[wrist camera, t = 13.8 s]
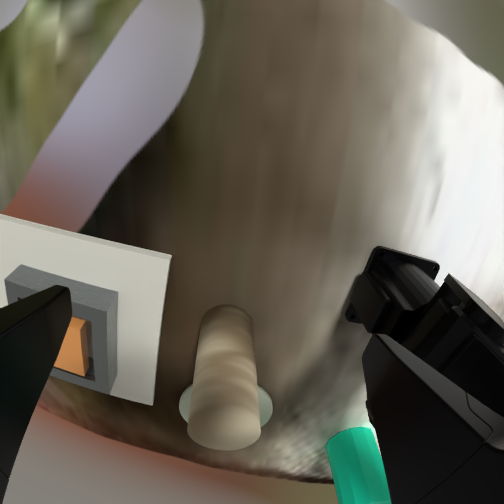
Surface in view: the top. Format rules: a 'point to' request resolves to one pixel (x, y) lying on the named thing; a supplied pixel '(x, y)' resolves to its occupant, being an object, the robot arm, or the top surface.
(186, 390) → the mat
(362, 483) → the candle
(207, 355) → the tan cylinder
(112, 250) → the white flat square slab
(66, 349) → the button
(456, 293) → the robot arm
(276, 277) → the top surface
